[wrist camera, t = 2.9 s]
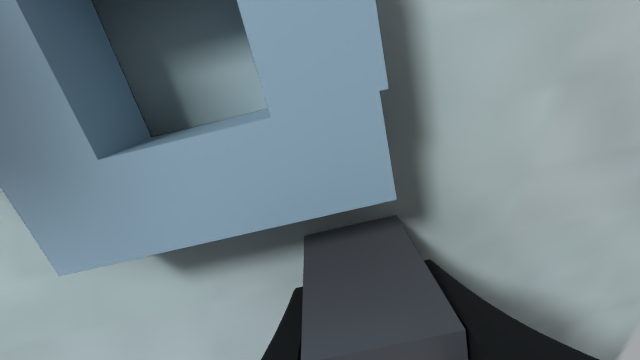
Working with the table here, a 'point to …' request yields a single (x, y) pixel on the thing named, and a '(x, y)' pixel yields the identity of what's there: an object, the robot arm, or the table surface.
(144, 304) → the table surface
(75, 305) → the table surface
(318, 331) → the plug
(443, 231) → the table surface
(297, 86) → the socket plate
